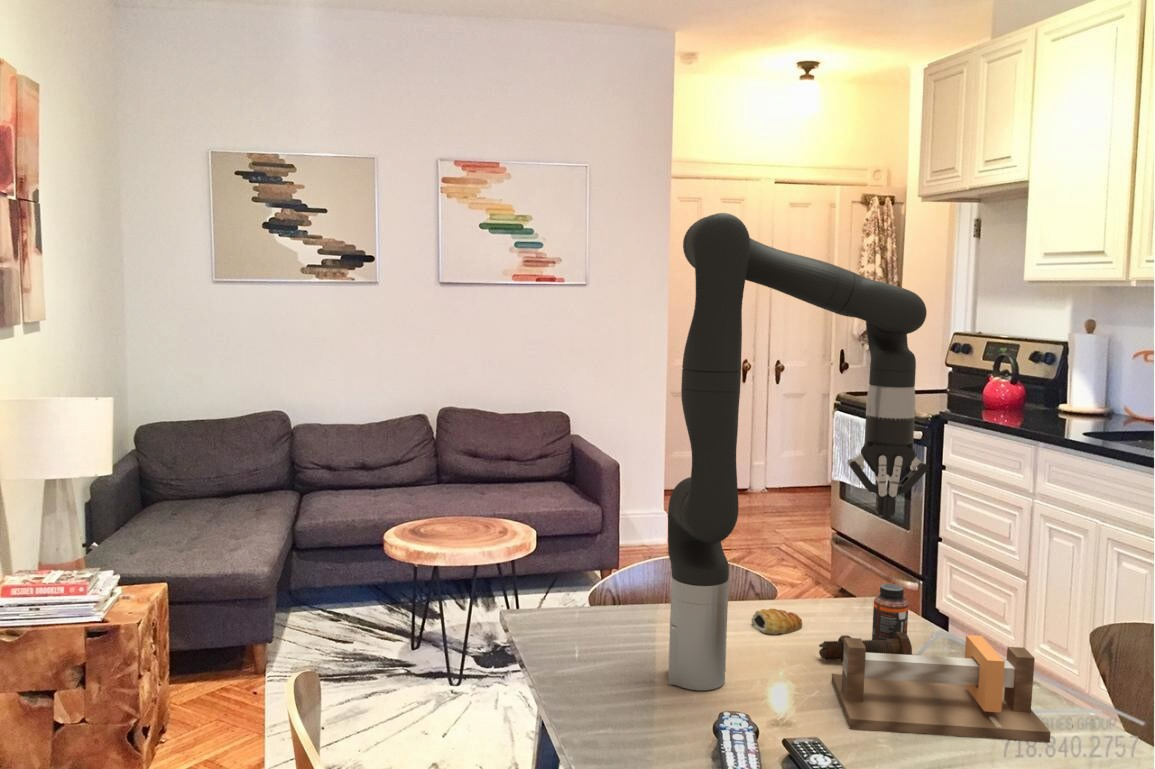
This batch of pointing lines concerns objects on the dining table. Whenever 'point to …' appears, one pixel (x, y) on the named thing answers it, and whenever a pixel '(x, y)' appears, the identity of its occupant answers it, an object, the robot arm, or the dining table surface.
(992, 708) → the collar
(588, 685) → the dining table surface
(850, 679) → the pipe stand
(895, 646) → the bolt
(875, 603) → the supplement bottle
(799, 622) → the pastry
